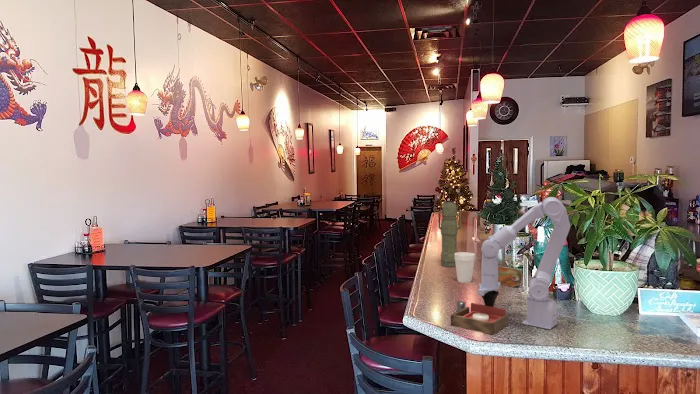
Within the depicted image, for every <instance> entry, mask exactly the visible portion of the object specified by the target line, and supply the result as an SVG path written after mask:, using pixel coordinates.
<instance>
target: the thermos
mask: <svg viewBox="0 0 700 394" xmlns="http://www.w3.org/2000/svg"><path fill="white" fill-rule="evenodd" d="M441 213H442V218H441ZM457 213H458V215H457ZM461 214H462V213H461V211H460V210H458V209H457V204H456V202H455V201H444V202H443V204H442V209H441V210H439V212H438V215H437V217H438V218H437V219H438V220H437V221H438V225H437V226H438V229H439V230H440V234H441V253H440V265H441V267H444V268H456V263H455V253H458V251H457V249H458V248H457V246H458V245H457V243H458V242H457V240H458V238H457V237H458V231H459V230H461V224H462V223H461V222H462V221H461V220H462V218H461V217H462V215H461ZM457 216H458V220H457ZM441 219H442V220H441Z"/></svg>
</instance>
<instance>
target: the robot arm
mask: <svg viewBox="0 0 700 394" xmlns="http://www.w3.org/2000/svg"><path fill="white" fill-rule="evenodd" d="M567 211H568V210H567V207H565V205H564V204H563V203H562V201H561V200H559V199H558V198H557V197H554V196H548V197H546V198H544V199H543V200H542V201H540V202H538V203H536V204H535V205H534V206H532V207H531V208H529V209H528V210H527V211H526V212H525V213H524V214H523V215H522V216H521V217H519V218H518V219H517V220H516V221H514V222H513V223H512V224H510V225H507V224H506V225H503V226H499V227H498V231H496V232H495V233H494V234H492V236H491V235H490V236H488V239H486V240H485V241H483V243H482V245H481V248H480V251H481V253H482V254H481V265H480V266H481V267H480V270H481V272H480V273H481V274H480V275H481V280H480V281H481V283H479V284H478V285H477V287H479V289H477V295H478V296H481V298H482V299H483V302H484V303H483V304H484V305H486V306H491V307H495V302H496V300H497V297H498V296H499V291H497V290H499V289H500V288H501V285H500V282H498V266H499V261H498V255H499V254H498V253H500V252H499V251H500V250H503V249H505V248H506V247H507V246H508V245H509V244H510V243H512V242H514V240H517V235H518V232H520V231H521V230H523V229H524V228H525V227H526V226H528V225H529V224H531V223H532V222H533V221H535V220H536V219H544V218H545V216H546V217H548V219H549V220H550V221H551V223H552V225H553V227H554V228H553V230H552V232H551V234H550V237H549V239H548V242H547V244H546V247H545V250H544V252H543V255H542V257H541V259H540V262H539V265H538V267H537V269H536V271H535V272H534V275H533V276H532V277H531V278H530V279H529V280H528V283H527V286H528V294H527V295H526V319H525V320H523V321H522V322H521V324H523V325H527V326H531V327H532V326H533V327H536V328H542V329H545V330H551V329H553V328H554V327H555V326H556V325H558V321H557V320H558V305H557V302H556V301H554V300H551V299H550V296H549V294H550V290H549V286H550V283H551V279H552V275H553V272H554V270H555V268H556V265H557V262H558V260H559V257H560V254H561V252H562V250H563V248H564V245H565V242H566V240H567V237H568V235H569V232H570V230H571V222H570V219H569V216H568V212H567Z"/></svg>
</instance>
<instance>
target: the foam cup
mask: <svg viewBox="0 0 700 394" xmlns="http://www.w3.org/2000/svg"><path fill="white" fill-rule="evenodd" d="M475 261H476V254H475V253H474V252H465V251H464V252H463V251H462V252H461V251H459V252H458V251H457V253H455V263H456V267H455V270H456V279H457V282H459V283H463V284H468V283H471V282H472V279H473V272H474V266H475Z"/></svg>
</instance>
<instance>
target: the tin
mask: <svg viewBox="0 0 700 394" xmlns="http://www.w3.org/2000/svg"><path fill="white" fill-rule="evenodd" d="M522 281H523V276H522V273H521V271H520V270H518V269H517V268H514V267H507V266H500V265H498V282H500V286H505V287H509V288H510V287H511V288H514V287H518V286H519V285H520V284H521V283H522Z"/></svg>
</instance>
